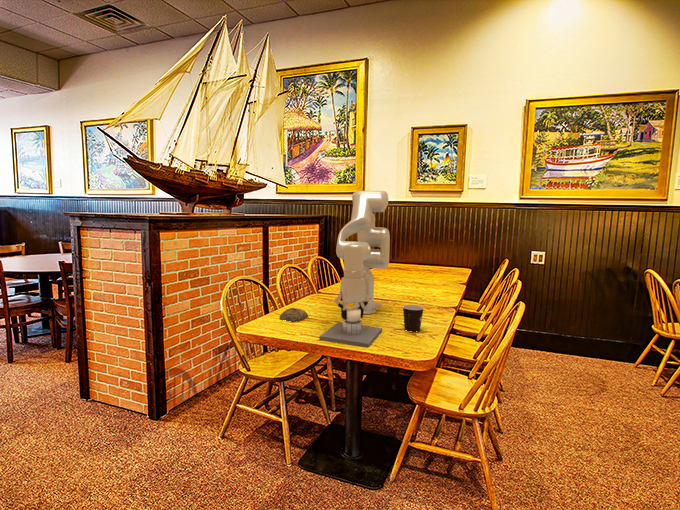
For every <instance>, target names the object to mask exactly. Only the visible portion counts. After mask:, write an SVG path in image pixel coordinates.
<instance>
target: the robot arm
mask: <svg viewBox="0 0 680 510" xmlns="http://www.w3.org/2000/svg"><path fill="white" fill-rule="evenodd" d="M351 199H352V210H351V217H350V218H351V219H350V221H349V222H347V223H346V224H345V225H344V226H343V227H342V228H341V230H340V231H339V233H338V236H337V241H336V249H335V252H336V256H337V258H338V259H341V260H343V266H344V267H343V277H341V279H340V285H339V293H338V295H337V296H336V297H335V299H334V300H333V302H334V303H335V304H336V305H337V307H339V309H340V311H341V312H340V313H341V314H340V316H341V318H342V320H346V319H347V310H346V308H348V305H349V304H354V307H355V308H359V309H361V319H364V317H363V316H364V315H372V314H375V313H377V308H380V307H383V303H382V302H374V298H375V297H374V295H375V294H374V293H375V292H374V291H375V275H374V274H373V271H371V269H380V270H381V269H383V270H384V269H385V270H386V269H388V267H389V264H390V252H391V251H390V247H391V239H390V238H391V236H390V235H391V234H390V231H389V229H388V228H386V227H383V226H382V227H379V226H377V227H376V216H375V214H374V213H384V212H385V211H386V209H387V207H388V205H389V194H388V192H387V191H385V190H357V191H355V192H353V193H352V197H351ZM356 233H357V241H352V240H351V241H350V240H349V241H348V240H346V239H348V238H349V237H350V236H353V235H355V234H356ZM372 247H378V248H380V249H375V248H372ZM341 302H342V303H341Z"/></svg>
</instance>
